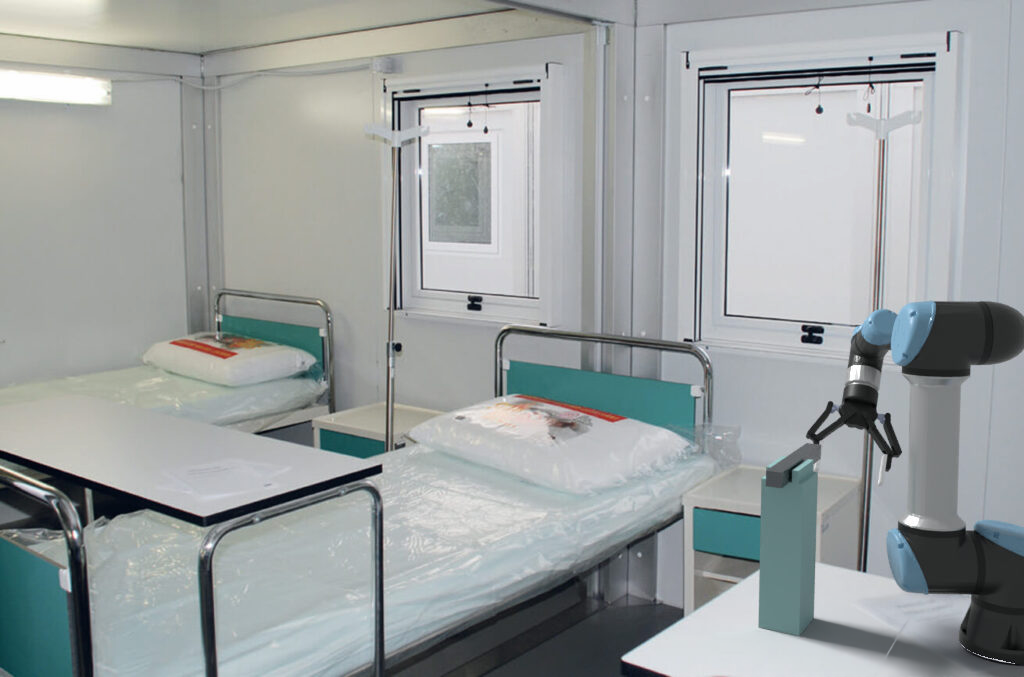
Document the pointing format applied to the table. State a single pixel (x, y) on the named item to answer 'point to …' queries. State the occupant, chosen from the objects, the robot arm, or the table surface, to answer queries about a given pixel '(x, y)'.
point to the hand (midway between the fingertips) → (848, 477)
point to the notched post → (788, 551)
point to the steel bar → (791, 465)
